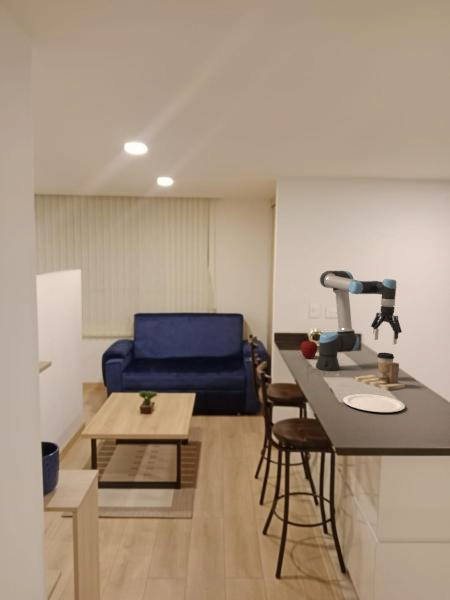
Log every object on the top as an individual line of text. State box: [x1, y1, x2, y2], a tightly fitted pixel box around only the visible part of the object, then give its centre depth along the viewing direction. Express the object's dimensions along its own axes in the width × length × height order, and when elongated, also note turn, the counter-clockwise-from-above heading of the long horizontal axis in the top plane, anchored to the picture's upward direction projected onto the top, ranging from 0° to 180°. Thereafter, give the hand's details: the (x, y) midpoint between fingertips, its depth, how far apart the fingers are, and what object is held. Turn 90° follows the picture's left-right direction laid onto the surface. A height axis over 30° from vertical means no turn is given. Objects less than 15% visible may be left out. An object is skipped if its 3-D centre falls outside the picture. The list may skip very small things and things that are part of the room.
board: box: [352, 373, 406, 391], centre depth 276 cm, size 26×14×2 cm, turn 31°
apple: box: [300, 340, 318, 360], centre depth 343 cm, size 12×12×13 cm
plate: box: [342, 393, 406, 414], centre depth 235 cm, size 29×29×2 cm
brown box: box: [378, 361, 400, 384], centre depth 271 cm, size 6×12×11 cm, turn 121°
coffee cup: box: [377, 352, 395, 377], centre depth 289 cm, size 10×10×15 cm
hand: (384, 342), depth 279 cm, fingers open, 13 cm apart
